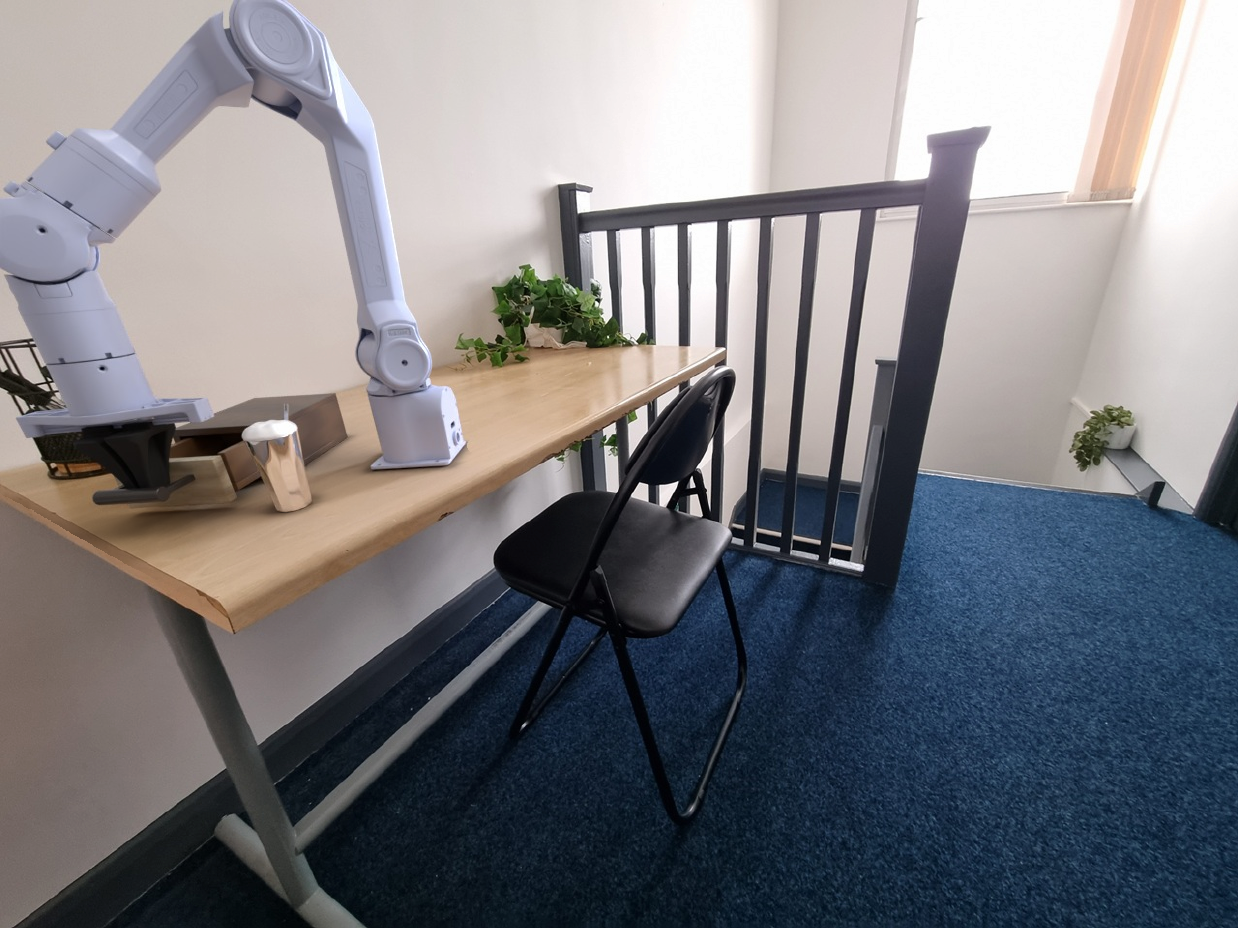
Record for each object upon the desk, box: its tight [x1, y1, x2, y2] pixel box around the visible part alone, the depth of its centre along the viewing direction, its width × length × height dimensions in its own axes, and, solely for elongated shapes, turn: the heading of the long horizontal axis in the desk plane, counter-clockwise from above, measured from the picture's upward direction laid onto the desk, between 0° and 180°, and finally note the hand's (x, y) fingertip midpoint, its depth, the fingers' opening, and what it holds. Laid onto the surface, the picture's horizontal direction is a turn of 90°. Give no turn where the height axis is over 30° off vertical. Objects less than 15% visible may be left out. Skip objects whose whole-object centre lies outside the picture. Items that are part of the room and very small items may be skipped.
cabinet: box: [172, 392, 348, 480], centre depth 65 cm, size 15×12×7 cm
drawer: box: [91, 433, 261, 509], centre depth 54 cm, size 18×10×5 cm, turn 1°
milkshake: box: [242, 404, 313, 513], centre depth 50 cm, size 4×5×10 cm
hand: (156, 498), depth 48 cm, fingers closed, pressing on drawer
